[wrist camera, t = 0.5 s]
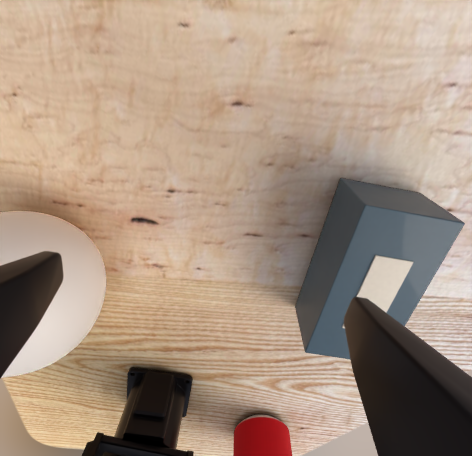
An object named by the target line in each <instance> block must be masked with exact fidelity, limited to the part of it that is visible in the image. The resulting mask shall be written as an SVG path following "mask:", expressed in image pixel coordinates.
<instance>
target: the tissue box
mask: <svg viewBox="0 0 472 456" xmlns="http://www.w3.org/2000/svg"><path fill="white" fill-rule="evenodd" d="M464 224H465V223H464V222H462V221H461V220H459V219H458V218H456V217H455V216H453V215H452V214H450V213H449V212H448V211H446V210H445V209H443V208H442V207H440V206H439V205H437V204H436V203H434V202H433V201H431V200H430V199H428V198H427V197H425V196H424V195H422V194H421V193H418V192H412V191H407V190H402V189H397V188H391V187H386V186H381V185H375V184H370V183H365V182H360V181H354V180H349V179H344V178H341V179H340V181H339V184H338V187H337V189H336V192H335V195H334V198H333V201H332V204H331V206H330V209H329V212H328V215H327V218H326V221H325V223H324V226H323V229H322V232H321V235H320V238H319V240H318V243H317V246H316V249H315V252H314V255H313V257H312V260H311V263H310V266H309V269H308V272H307V274H306V277H305V280H304V283H303V286H302V289H301V291H300V294H299V297H298V300H297V303H296V306H295V308H296V313H297V317H298V322H299V326H300V331H301V336H302V340H303V345H304V349H305V352H306V353H312V354H319V355H325V356H332V357H339V358H345V359H350V354H349V348H348V343H347V338H346V332H345V327H344V317H345V314H346V312H347V309H348V307H349V304H350V302H351V300H352V299H353V298H354V297H362V298H367V299H369V300H370V301H371V302H373V303H374V304H375V305H377V306H378V307H379V308H381V309H382V310H383V311H385V312H386V313H387V314H389V315H390V316H391V317H393V318H394V319H395V320H397V321H398V322H399V323H401V324H402V325H403V326H405V324H406V323H407V321H408V319H409V318H410V316H411V314H412V313H413V311H414V309H415V307H416V306H417V304H418V302H419V301H420V299H421V297H422V296H423V294H424V292H425V291H426V289H427V287H428V285H429V284H430V282H431V280H432V279H433V277H434V275H435V274H436V272H437V270H438V268H439V267H440V265H441V263H442V262H443V260H444V258H445V257H446V255H447V253H448V251H449V250H450V248H451V246H452V245H453V243H454V241H455V240H456V238H457V236H458V234H459V233H460V231H461V229H462V228H463V226H464Z"/></svg>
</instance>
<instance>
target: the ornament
mask: <svg viewBox="0 0 472 456" xmlns="http://www.w3.org/2000/svg"><path fill="white" fill-rule="evenodd" d="M43 251H51V252H58V253H60V254H61V257H62V265H63V274H64V277H63V282H62V284H61V286H60V288H59V289H58V291H57V293H56V295H55V296H54V298H53V300H52V302H51V304H50V305H49V307H48V309H47V311H46V312H45V314H44V316H43V318H42V320H41V321H40V323H39V325H38V326H37V328H36V329H35V331H34V332H33V334H32V335H31V336H30V338H29V339H28V341H27V342H26V343H25V345H24V346H23V348H22V349H21V350H20V352H19V353H18V355H17V356H16V357H15V359H14V360H13V362H12V363H11V364H10V366H9V367H8V369H7V370H6V371H5V373H4V374H3V376H2V377H11V376H18V375H23V374H27V373H31V372H34V371H37V370H40V369H42V368H44V367H47V366H49V365H51V364H53V363H54V362H56V361H58V360H59V359H61V358H63V357H64V356H65V355H67V354H68V353H69V352H71V351H72V350H73V349H74V348H75V347H76V346H77V345H78V344H79V343H80V342H81V341H82V340H83V339H84V338H85V337H86V335H87V334H88V333H89V331H90V330H91V328H92V327H93V325H94V324H95V322H96V320H97V318H98V316H99V313H100V311H101V308H102V305H103V302H104V298H105V293H106V270H105V266H104V262H103V259H102V257H101V254H100V252H99V250H98V249H97V247H96V245H95V244H94V243H93V241H92V240H91V239H90V238H89V237H88V236H87V235H86V234H85V233H84V232H83V231H82V230H80V229H79V228H77V227H76V226H74V225H73V224H71V223H69V222H67V221H65V220H63V219H61V218H58V217H55V216H52V215H49V214H45V213H40V212H32V211H6V212H0V266H1V265H4V264H7V263H10V262H13V261H16V260H19V259H22V258H25V257H28V256H31V255H34V254H37V253H40V252H43Z"/></svg>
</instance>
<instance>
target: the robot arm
mask: <svg viewBox="0 0 472 456" xmlns="http://www.w3.org/2000/svg"><path fill="white" fill-rule="evenodd" d="M63 277H64V274H63V265H62V257H61V254H60V253H58V252H51V251H43V252H40V253H37V254H34V255H31V256H28V257H25V258H22V259H19V260H16V261H13V262H10V263H7V264H4V265H1V266H0V378H1V377H2V376H3V374H4V373H5V371H6V370H7V369H8V367H9V366H10V364H11V363H12V362H13V360H14V359H15V357H16V356H17V355H18V353H19V352H20V350H21V349H22V348H23V346H24V345H25V343H26V342H27V341H28V339H29V338H30V336H31V335H32V334H33V332H34V331H35V329H36V328H37V326H38V325H39V323H40V321H41V320H42V318H43V316H44V314H45V312H46V311H47V309H48V307H49V305H50V304H51V302H52V300H53V298H54V296H55V295H56V293H57V291H58V289H59V288H60V286H61V284H62V282H63ZM344 327H345V332H346V338H347V343H348V348H349V354H350V359H351V364H352V369H353V373H354V376H355V380H356V383H357V386H358V390H359V393H360V396H361V400H362V403H363V406H364V410H365V413H366V416H367V420H368V423H369V426H370V429H371V433H372V436H373V440H374V442H375V446H376V449H377V453H378V456H472V377H471V376H469V375H468V374H467V373H465V372H464V371H463V370H461V369H460V368H459V367H457V366H456V365H455V364H453V363H452V362H451V361H449V360H448V359H447V358H445V357H444V356H443V355H441V354H440V353H439V352H438V351H436V350H435V349H434V348H432V347H431V346H430V345H428V344H427V343H426V342H424V341H423V340H422V339H420V338H419V337H418V336H416V335H415V334H414V333H412V332H411V331H410V330H408V329H407V328H406V327H404V326H403V325H402V324H401V323H399V322H398V321H397V320H395V319H394V318H393V317H391V316H390V315H389V314H387V313H386V312H385V311H383V310H382V309H381V308H379V307H378V306H377V305H375V304H374V303H373V302H371V301H370V300H369V299H367V298H362V297H354V298H353V299H352V300H351V302H350V304H349V307H348V309H347V312H346V314H345V317H344ZM192 380H193V379H192V377H191V376H189V375H183V374H176V373H169V372H162V371H155V370H148V369H141V368H134V367H132V368H130V369H129V371H128V381H127V403H126V405H125V408H124V411H123V414H122V417H121V419H120V422H119V425H118V428H117V431H116V433H115V436H114V437H112V436H107V435H104V434H103V433H97V435H96V437H95V439H94V441H91V442H88V443H87V445H86V447H85V449H84V452H83V454H82V456H193V451H182V450H177V449H176V447H177V441H178V436H179V430H180V425H181V419H182V417H185V416H186V413H187V408H188V402H189V397H190V391H191V385H192Z"/></svg>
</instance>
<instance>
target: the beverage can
mask: <svg viewBox="0 0 472 456" xmlns="http://www.w3.org/2000/svg"><path fill="white" fill-rule="evenodd" d="M234 456H292V450H291V443H290V435H289V430H288V428H287V426H286V425H285V424H284V423H283V422H282V421H280V420H278V419H276V418H275V417H272V416H269V415H253V416H250V417H248V418H246V419H245V420H243V421H241V422H240V423H239V424H238V425H237V426H236V428H235V430H234Z"/></svg>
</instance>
